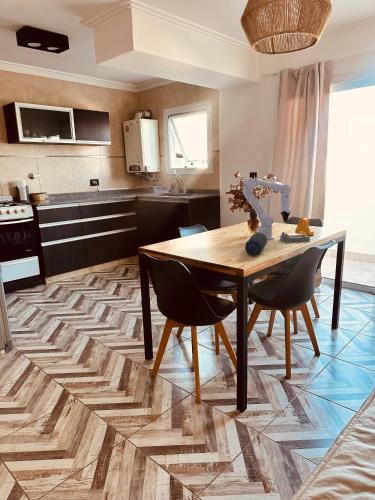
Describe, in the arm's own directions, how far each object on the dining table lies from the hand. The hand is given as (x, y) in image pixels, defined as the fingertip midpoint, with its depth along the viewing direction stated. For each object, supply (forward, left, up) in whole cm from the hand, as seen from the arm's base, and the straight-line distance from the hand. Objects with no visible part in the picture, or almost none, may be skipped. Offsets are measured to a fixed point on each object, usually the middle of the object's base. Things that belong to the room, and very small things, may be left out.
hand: (285, 222), depth 237 cm
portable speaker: (-32, -34, -11) cm, 48 cm away
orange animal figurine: (+15, +2, -11) cm, 19 cm away
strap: (0, -13, -7) cm, 15 cm away
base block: (+1, -13, -10) cm, 16 cm away
